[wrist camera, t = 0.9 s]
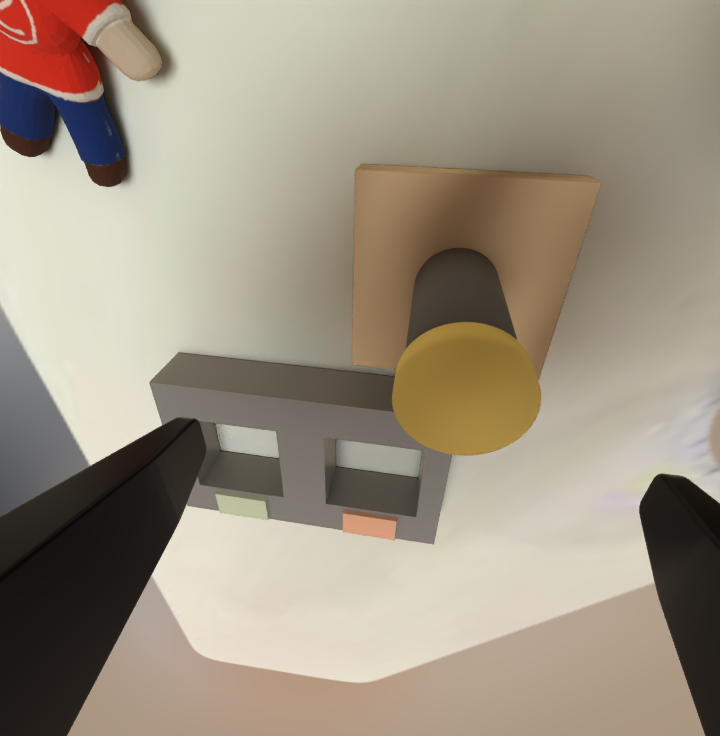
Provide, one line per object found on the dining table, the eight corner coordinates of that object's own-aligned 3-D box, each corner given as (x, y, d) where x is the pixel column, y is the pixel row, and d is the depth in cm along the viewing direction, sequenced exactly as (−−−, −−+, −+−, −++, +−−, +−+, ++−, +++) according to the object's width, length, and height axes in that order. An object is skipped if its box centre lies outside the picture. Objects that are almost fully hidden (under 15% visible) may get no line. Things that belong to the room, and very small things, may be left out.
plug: (514, 246, 17) (559, 348, 10) (494, 333, 19) (521, 463, 13) (413, 239, 17) (397, 332, 11) (405, 325, 20) (387, 445, 13)
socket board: (457, 383, 23) (459, 423, 20) (434, 504, 28) (433, 548, 26) (178, 352, 25) (145, 385, 22) (208, 471, 30) (185, 509, 28)
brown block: (589, 175, 17) (601, 183, 15) (531, 367, 22) (537, 384, 20) (361, 163, 18) (355, 169, 16) (356, 349, 23) (351, 364, 21)
